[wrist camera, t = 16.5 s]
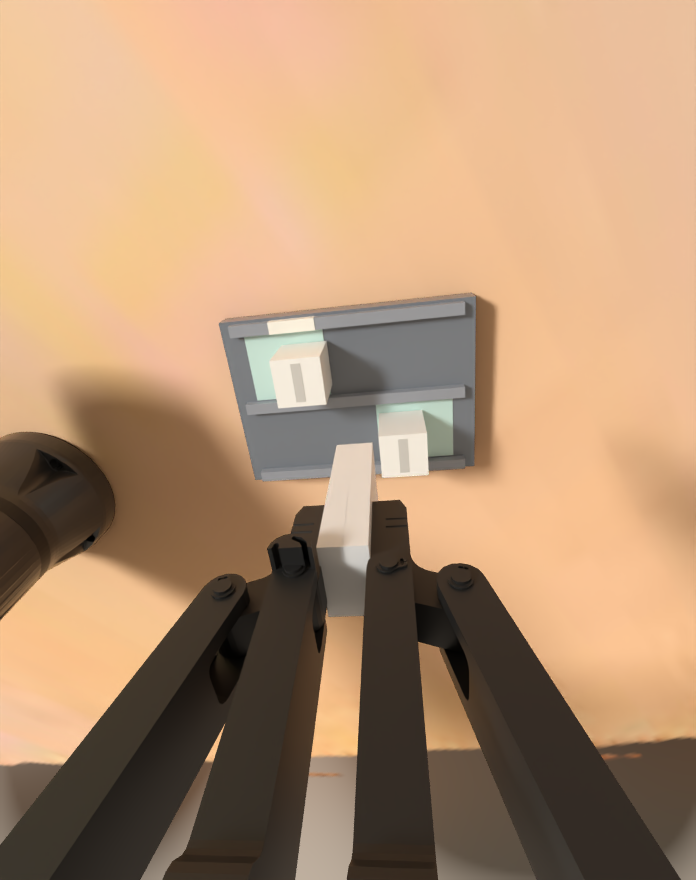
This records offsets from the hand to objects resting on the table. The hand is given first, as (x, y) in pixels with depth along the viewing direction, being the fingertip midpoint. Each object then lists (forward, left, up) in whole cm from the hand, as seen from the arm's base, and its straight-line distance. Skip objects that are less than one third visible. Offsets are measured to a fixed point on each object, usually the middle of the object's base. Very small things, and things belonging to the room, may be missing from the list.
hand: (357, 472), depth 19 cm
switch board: (-2, -5, -24) cm, 25 cm away
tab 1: (-6, -1, -22) cm, 23 cm away
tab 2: (+2, -9, -22) cm, 24 cm away
